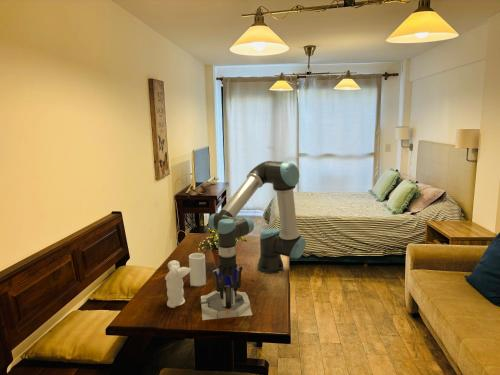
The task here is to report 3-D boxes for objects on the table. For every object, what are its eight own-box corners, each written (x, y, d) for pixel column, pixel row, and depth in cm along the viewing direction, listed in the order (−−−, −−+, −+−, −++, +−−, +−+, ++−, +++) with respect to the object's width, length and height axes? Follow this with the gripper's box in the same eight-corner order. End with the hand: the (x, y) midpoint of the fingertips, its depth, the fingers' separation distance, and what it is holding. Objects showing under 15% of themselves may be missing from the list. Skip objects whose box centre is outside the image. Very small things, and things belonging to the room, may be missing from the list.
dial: (205, 299, 175) (204, 276, 172) (237, 294, 179) (237, 271, 177) (211, 316, 159) (210, 291, 157) (246, 310, 164) (246, 285, 162)
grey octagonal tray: (245, 293, 182) (245, 287, 181) (252, 318, 160) (252, 311, 159) (199, 297, 178) (199, 291, 178) (200, 323, 156) (200, 316, 156)
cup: (203, 288, 188) (201, 259, 185) (188, 287, 190) (186, 258, 187) (208, 281, 196) (206, 253, 193) (193, 280, 198) (192, 252, 195)
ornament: (242, 283, 193) (241, 256, 190) (234, 290, 185) (233, 263, 182) (224, 279, 198) (223, 253, 195) (215, 286, 190) (214, 259, 187)
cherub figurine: (170, 298, 179) (167, 255, 175) (195, 298, 178) (193, 255, 175) (163, 310, 167) (160, 265, 163) (190, 310, 166) (188, 265, 163)
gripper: (211, 260, 152) (212, 311, 157) (248, 254, 158) (248, 304, 162) (206, 254, 159) (208, 303, 164) (242, 249, 165) (243, 296, 169)
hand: (228, 303), depth 163 cm, fingers open, 3 cm apart
